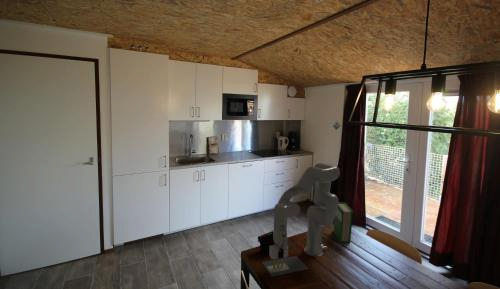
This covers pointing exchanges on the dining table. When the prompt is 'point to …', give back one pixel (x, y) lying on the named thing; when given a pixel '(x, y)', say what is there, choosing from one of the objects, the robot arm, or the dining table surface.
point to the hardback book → (343, 222)
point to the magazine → (266, 241)
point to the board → (284, 266)
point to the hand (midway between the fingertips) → (278, 254)
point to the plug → (275, 248)
